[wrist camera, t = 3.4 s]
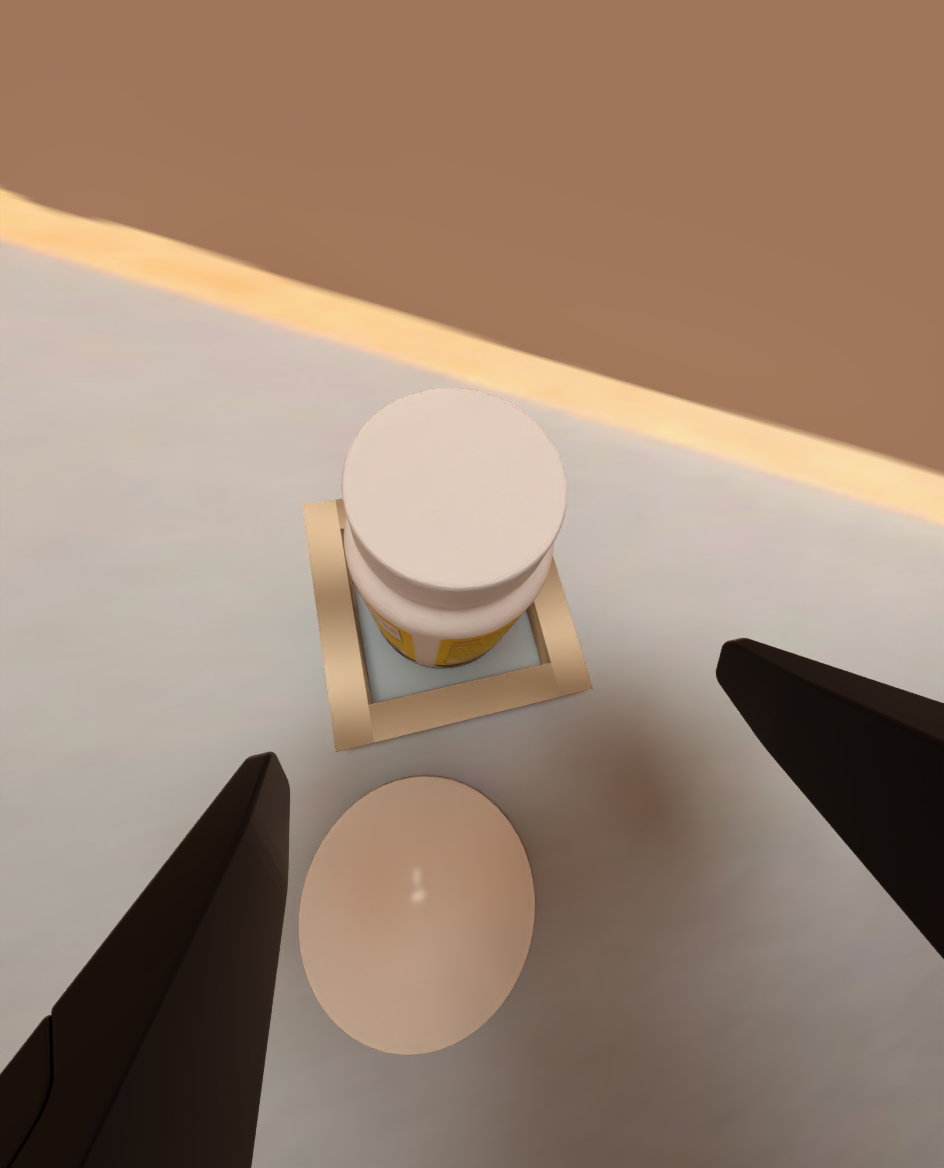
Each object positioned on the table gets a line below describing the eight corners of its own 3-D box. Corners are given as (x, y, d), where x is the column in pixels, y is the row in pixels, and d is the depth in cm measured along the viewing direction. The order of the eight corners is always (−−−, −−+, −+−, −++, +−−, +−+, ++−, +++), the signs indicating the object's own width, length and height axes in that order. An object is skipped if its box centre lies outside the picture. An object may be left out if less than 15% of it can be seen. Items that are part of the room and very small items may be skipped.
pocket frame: (580, 690, 20) (592, 688, 19) (343, 749, 18) (336, 751, 17) (520, 485, 23) (526, 470, 22) (310, 519, 21) (302, 504, 20)
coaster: (573, 869, 18) (577, 874, 17) (436, 1105, 15) (436, 1120, 15) (407, 730, 19) (406, 731, 18) (251, 930, 16) (245, 938, 16)
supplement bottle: (520, 561, 22) (613, 410, 11) (490, 685, 20) (568, 649, 9) (397, 527, 22) (370, 339, 11) (355, 648, 20) (270, 566, 9)
